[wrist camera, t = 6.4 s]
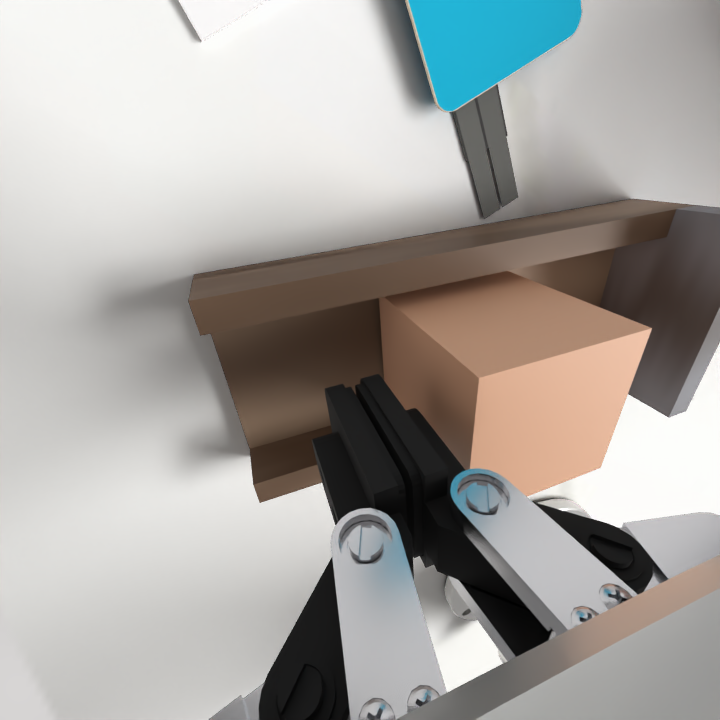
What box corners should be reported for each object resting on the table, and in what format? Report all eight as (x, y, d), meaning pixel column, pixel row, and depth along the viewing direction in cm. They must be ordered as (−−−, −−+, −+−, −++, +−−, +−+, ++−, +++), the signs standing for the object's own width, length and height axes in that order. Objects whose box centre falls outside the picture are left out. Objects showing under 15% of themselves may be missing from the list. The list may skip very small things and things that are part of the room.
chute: (588, 357, 20) (685, 411, 16) (254, 456, 15) (267, 565, 11) (632, 198, 16) (782, 214, 11) (194, 274, 11) (179, 342, 7)
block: (486, 374, 17) (600, 467, 12) (385, 403, 15) (464, 520, 10) (498, 267, 14) (652, 327, 9) (378, 292, 13) (478, 377, 8)
